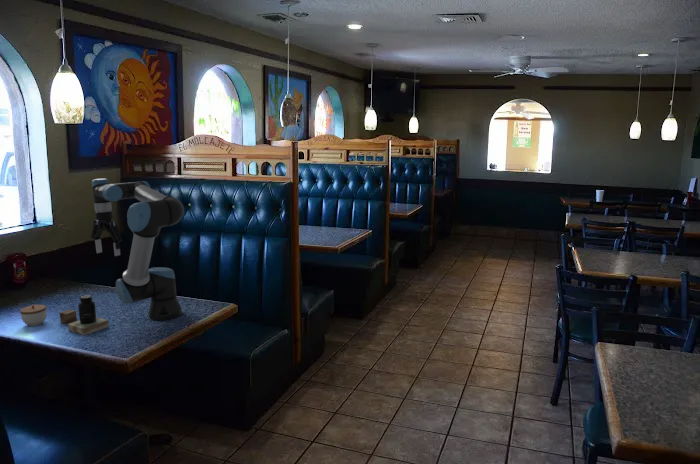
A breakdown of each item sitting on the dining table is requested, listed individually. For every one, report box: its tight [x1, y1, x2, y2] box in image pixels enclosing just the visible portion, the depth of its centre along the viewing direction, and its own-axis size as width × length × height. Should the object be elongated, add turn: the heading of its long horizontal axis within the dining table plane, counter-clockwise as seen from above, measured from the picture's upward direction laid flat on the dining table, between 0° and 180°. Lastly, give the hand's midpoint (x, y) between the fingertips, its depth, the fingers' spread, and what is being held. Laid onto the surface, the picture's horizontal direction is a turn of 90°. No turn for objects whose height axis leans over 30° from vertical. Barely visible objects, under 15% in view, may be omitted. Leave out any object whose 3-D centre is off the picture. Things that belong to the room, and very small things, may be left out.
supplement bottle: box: [77, 294, 97, 324], centre depth 252 cm, size 7×7×12 cm
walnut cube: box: [59, 308, 78, 325], centre depth 263 cm, size 5×5×5 cm
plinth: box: [67, 316, 110, 336], centre depth 253 cm, size 12×12×3 cm
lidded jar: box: [19, 304, 48, 327], centre depth 260 cm, size 11×11×9 cm
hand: (108, 254), depth 273 cm, fingers open, 13 cm apart
